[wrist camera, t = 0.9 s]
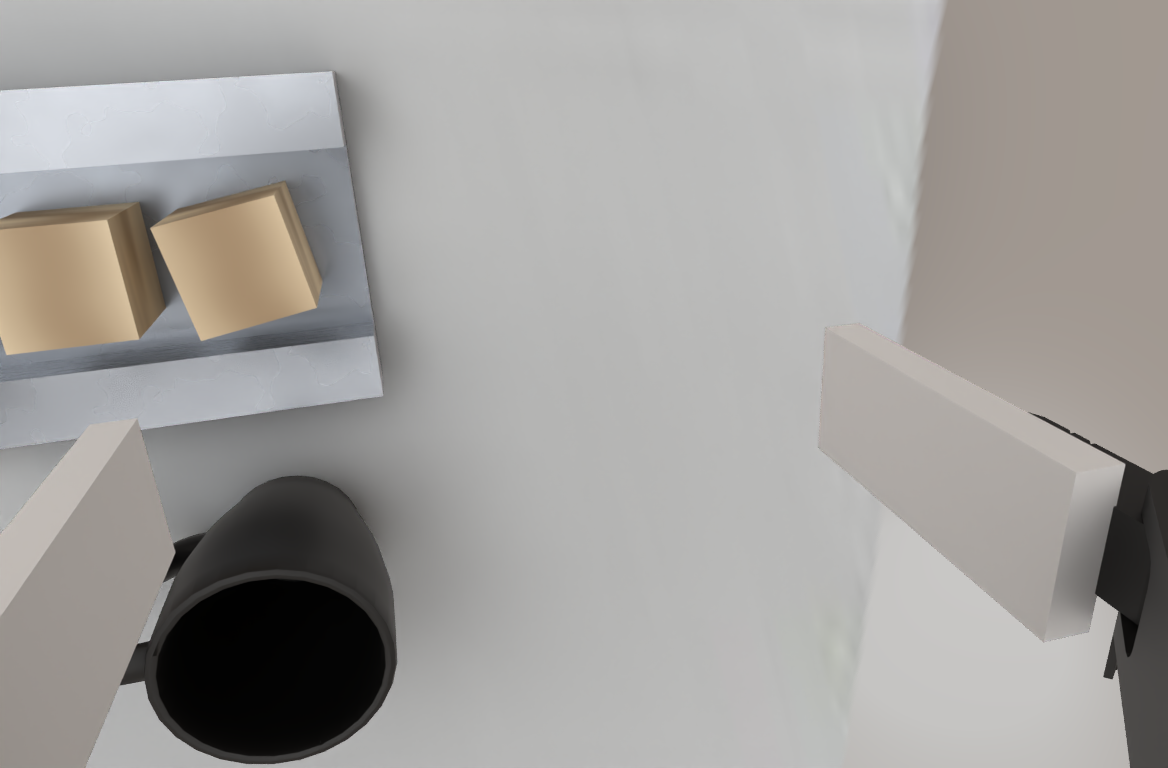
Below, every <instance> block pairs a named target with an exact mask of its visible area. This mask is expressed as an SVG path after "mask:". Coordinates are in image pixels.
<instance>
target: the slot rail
mask: <svg viewBox="0 0 1168 768" xmlns="http://www.w3.org/2000/svg"><path fill="white" fill-rule="evenodd" d="M281 181H285V182H286V185H287V187H288V190H289V193H290V195H291V198H292V201H293V203H294V206H295V209H296V211H297V214H298V217H299V219H300V222H301V225H302V227H303V230H304V233H305V235H306V238H307V241H308V244H309V246H310V249H311V252H312V254H313V257H314V260H315V262H316V265H317V268H318V270H319V273H320V276H321V278H322V286H321V291H320V295H319V300H318V305H317V308H315V309H311V310H308V311H304V312H301V313H297V314H294V315H290V316H287V317H283V318H280V319H276V320H273V321H269V322H266V323H263V324H259V325H256V326H252V327H249V328H245V329H242V330H238V331H235V332H231V333H228V334H224V335H221V336H217V337H214V338H210V339H207V340H203V341H201V340H200V338H199V336H198V333H197V331H196V329H195V327H194V324H193V322H192V320H191V318H190V316H189V313H188V311H187V309H186V307H185V304H184V302H183V300H182V298H181V296H180V293H179V291H178V289H177V287H176V284H175V282H174V280H173V278H172V276H171V273H170V271H169V269H168V267H167V265H166V262H165V260H164V258H163V256H162V253H161V251H160V249H159V247H158V245H157V242H156V240H155V238H154V236H153V233H152V231H151V229H150V228H151V227H153V226H154V225H155V224H157V223H158V222H159V221H161V220H162V219H164V218H165V217H166V216H168V215H169V214H171V213H172V212H173V211H175V210H176V209H179V208H183V207H187V206H191V205H195V204H198V203H202V202H206V201H210V200H213V199H217V198H221V197H225V196H229V195H232V194H236V193H240V192H244V191H247V190H251V189H255V188H259V187H263V186H266V185H270V184H274V183H278V182H281ZM132 202H139V204H140V208H141V212H142V216H143V220H144V224H145V228H146V231H147V235H148V239H149V243H150V247H151V251H152V255H153V259H154V263H155V267H156V271H157V275H158V279H159V283H160V286H161V290H162V294H163V298H164V302H165V306H166V309H165V310H164V311H163V312H162V313H161V315H160V316H159V317H158V318H157V319H156V320H155V322H154V323H153V324H152V325H151V326H150V327H149V329H148V330H147V331H146V332H145V333H144V335H143V336H142V337H141V338H140V339H139V340H130V341H122V342H113V343H105V344H96V345H88V346H79V347H71V348H62V349H54V350H46V351H37V352H29V353H20V354H12V355H6V352H5V349H4V346H3V343H2V340H1V337H0V449H7V448H14V447H21V446H28V445H36V444H43V443H50V442H57V441H64V440H72V439H78V438H79V437H80V436H81V435H82V433H83V432H84V431H85V430H86V428H87V427H88V426H89V425H90V424H98V423H106V422H113V421H121V420H128V419H136V418H137V419H138V422H139V426H140V429H141V430H143V429H151V428H158V427H165V426H172V425H179V424H186V423H194V422H201V421H208V420H215V419H222V418H230V417H237V416H244V415H251V414H258V413H265V412H273V411H280V410H287V409H294V408H301V407H309V406H316V405H323V404H330V403H337V402H344V401H352V400H359V399H366V398H373V397H380V396H383V379H382V367H381V361H380V354H379V348H378V342H377V335H376V329H375V323H374V316H373V310H372V303H371V297H370V291H369V284H368V278H367V272H366V265H365V259H364V252H363V246H362V240H361V233H360V227H359V221H358V214H357V208H356V201H355V195H354V189H353V182H352V176H351V170H350V163H349V157H348V151H347V144H346V138H345V131H344V125H343V119H342V112H341V106H340V100H339V93H338V87H337V80H336V74H335V71H327V72H310V73H293V74H275V75H258V76H241V77H224V78H207V79H190V80H172V81H155V82H138V83H121V84H104V85H87V86H69V87H52V88H35V89H18V90H1V91H0V219H1V218H4V217H6V216H9V215H11V214H14V213H16V212H27V211H39V210H51V209H62V208H74V207H85V206H97V205H109V204H120V203H132Z"/></svg>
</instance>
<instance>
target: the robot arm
mask: <svg viewBox="0 0 1168 768" xmlns="http://www.w3.org/2000/svg"><path fill="white" fill-rule="evenodd" d="M818 448H819V449H820V450H821V451H822V452H824V453H825V454H826V455H827V456H828V457H829V458H830V459H832V460H833V461H834V462H835V463H836V464H837V465H839V466H840V467H841V468H842V469H843V470H844V471H846V472H847V473H848V474H849V475H850V476H851V477H853V478H854V479H855V480H856V481H857V482H858V483H859V484H861V485H862V486H863V487H864V488H865V489H866V490H868V491H869V492H870V493H871V494H872V495H873V496H875V497H876V498H877V499H878V500H879V501H880V502H882V503H883V504H884V505H885V506H886V507H887V508H888V509H890V510H891V511H892V512H893V513H894V514H896V515H897V516H898V517H899V518H900V519H901V520H903V521H904V522H905V523H906V524H907V525H908V526H910V527H911V528H912V529H913V530H914V531H915V532H916V533H918V534H919V535H920V536H921V537H922V538H923V539H924V540H926V541H927V542H928V543H929V544H930V545H931V546H933V547H934V548H935V549H936V550H937V551H938V552H940V553H941V554H942V555H943V556H944V557H945V558H946V559H948V560H949V561H950V562H951V563H952V564H954V565H955V566H956V567H957V568H958V569H959V570H960V571H962V572H963V573H964V574H965V575H966V576H967V577H969V578H970V579H971V580H972V581H973V582H974V583H976V584H977V585H978V586H979V587H980V588H981V589H983V590H984V591H985V592H986V593H987V594H988V595H989V596H991V597H992V598H993V599H994V600H995V601H996V602H998V603H999V604H1000V605H1001V606H1002V607H1003V608H1005V609H1006V610H1007V611H1008V612H1009V613H1010V614H1012V615H1013V616H1014V617H1015V618H1016V619H1017V620H1019V621H1020V622H1021V623H1022V624H1023V625H1024V626H1025V627H1027V628H1028V629H1029V630H1030V631H1031V632H1033V633H1034V634H1035V635H1036V636H1037V637H1038V638H1039V639H1040V640H1042V641H1043V642H1046V641H1051V640H1056V639H1060V638H1065V637H1069V636H1073V635H1078V634H1082V633H1087V632H1089V629H1090V625H1091V619H1092V615H1093V611H1094V606H1095V602H1096V597H1097V596H1099V597H1100V598H1101V599H1103V600H1104V601H1106V602H1107V603H1108V604H1110V605H1111V606H1112V607H1114V608H1115V609H1116V610H1118V611H1119V612H1118V616H1117V620H1116V625H1115V629H1114V633H1113V637H1112V642H1111V646H1110V650H1109V655H1108V659H1107V664H1106V668H1105V672H1104V677H1105V678H1109V679H1113V676H1114V673H1115V670H1117V669H1118V676H1119V683H1120V691H1121V699H1122V707H1123V714H1124V722H1125V730H1126V737H1127V745H1128V753H1129V761H1130V768H1168V470H1161V471H1159V472H1157V473H1154V474H1152V473H1150V472H1149V471H1146V470H1145V469H1143V468H1141V467H1139V466H1137V465H1135V464H1133V463H1131V462H1129V461H1127V460H1126V459H1124V458H1122V457H1120V456H1117V455H1116V454H1114V453H1112V452H1110V451H1108V450H1106V449H1105V448H1103V447H1101V446H1099V445H1097V444H1090V441H1089V440H1087V439H1085V438H1083V437H1081V436H1080V435H1078V434H1076V433H1070V430H1068V429H1066V428H1064V427H1062V426H1060V425H1059V424H1057V423H1055V422H1053V421H1051V420H1049V419H1047V418H1045V417H1042V416H1039V415H1036V414H1032V413H1029V412H1026V411H1024V410H1022V409H1020V408H1018V407H1017V406H1015V405H1013V404H1011V403H1009V402H1007V401H1005V400H1003V399H1002V398H1000V397H998V396H996V395H994V394H992V393H990V392H988V391H986V390H985V389H983V388H981V387H978V386H977V385H975V384H973V383H971V382H969V381H968V380H966V379H964V378H962V377H960V376H958V375H956V374H954V373H952V372H950V371H949V370H946V369H945V368H943V367H941V366H939V365H937V364H935V363H934V362H932V361H930V360H928V359H926V358H924V357H922V356H920V355H918V354H916V353H915V352H913V351H911V350H909V349H907V348H905V347H903V346H901V345H899V344H898V343H896V342H894V341H892V340H890V339H888V338H886V337H884V336H882V335H881V334H879V333H877V332H875V331H873V330H871V329H869V328H867V327H865V326H864V325H862V324H860V323H856V324H848V325H841V326H833V327H826V328H825V340H824V357H823V374H822V391H821V408H820V424H819V441H818ZM174 555H175V549H174V546H173V542H172V539H171V535H170V531H169V528H168V524H167V521H166V517H165V514H164V510H163V507H162V503H161V500H160V496H159V493H158V489H157V486H156V482H155V479H154V475H153V471H152V468H151V464H150V461H149V457H148V454H147V450H146V447H145V443H144V440H143V436H142V433H141V429H140V426H139V422H138V419H137V418H136V419H128V420H121V421H113V422H106V423H98V424H90V425H89V426H88V427H87V428H86V430H85V431H84V432H83V433H82V435H81V436H80V437H79V438H78V440H77V441H76V442H75V443H74V444H73V446H72V447H71V448H70V449H69V451H68V452H67V453H66V454H65V456H64V457H63V458H62V459H61V460H60V462H59V463H58V464H57V465H56V467H55V468H54V469H53V470H52V472H51V473H50V474H49V475H48V476H47V478H46V479H45V480H44V481H43V483H42V484H41V485H40V486H39V488H38V489H37V490H36V491H35V492H34V494H33V495H32V496H31V497H30V499H29V500H28V501H27V502H26V504H25V505H24V506H23V507H22V508H21V510H20V511H19V512H18V513H17V515H16V516H15V517H14V518H13V520H12V521H11V522H10V523H9V524H8V526H7V527H6V528H5V529H4V531H3V532H2V533H1V534H0V768H85V767H86V764H87V762H88V759H89V757H90V755H91V752H92V750H93V748H94V745H95V743H96V740H97V738H98V736H99V733H100V731H101V729H102V726H103V724H104V721H105V719H106V717H107V714H108V712H109V709H110V707H111V705H112V702H113V700H114V698H115V695H116V693H117V690H118V688H119V686H120V683H121V681H122V679H123V676H124V674H125V671H126V669H127V667H128V664H129V662H130V660H131V657H132V655H133V652H134V650H135V648H136V645H137V643H138V640H139V638H140V636H141V633H142V631H143V629H144V626H145V624H146V621H147V619H148V617H149V614H150V612H151V610H152V607H153V605H154V602H155V600H156V598H157V595H158V593H159V590H160V588H161V586H162V583H163V581H164V579H165V576H166V574H167V571H168V569H169V567H170V564H171V562H172V560H173V557H174Z"/></svg>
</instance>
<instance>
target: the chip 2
mask: <svg viewBox="0 0 1168 768" xmlns="http://www.w3.org/2000/svg"><path fill="white" fill-rule="evenodd" d="M150 229H151V231H152V233H153V236H154V238H155V240H156V242H157V245H158V247H159V249H160V251H161V253H162V256H163V258H164V260H165V262H166V265H167V267H168V269H169V271H170V273H171V276H172V278H173V280H174V282H175V284H176V287H177V289H178V291H179V293H180V296H181V298H182V300H183V302H184V304H185V307H186V309H187V311H188V313H189V316H190V318H191V320H192V322H193V324H194V327H195V329H196V331H197V333H198V336H199V338H200V340H201V341H203V340H207V339H210V338H214V337H217V336H221V335H224V334H228V333H231V332H235V331H238V330H242V329H245V328H249V327H252V326H256V325H259V324H263V323H266V322H269V321H273V320H276V319H280V318H283V317H287V316H290V315H294V314H297V313H301V312H304V311H308V310H311V309H315V308H317V305H318V300H319V295H320V291H321V286H322V278H321V276H320V273H319V270H318V268H317V265H316V262H315V260H314V257H313V254H312V252H311V249H310V246H309V244H308V241H307V238H306V235H305V233H304V230H303V227H302V225H301V222H300V219H299V217H298V214H297V211H296V209H295V206H294V203H293V201H292V198H291V195H290V193H289V190H288V187H287V185H286V182H285V181H281V182H278V183H274V184H270V185H266V186H263V187H259V188H255V189H251V190H247V191H244V192H240V193H236V194H232V195H229V196H225V197H221V198H217V199H213V200H210V201H206V202H202V203H198V204H195V205H191V206H187V207H183V208H179V209H176V210H175V211H173V212H172V213H171V214H169V215H168V216H166V217H165V218H164V219H162V220H161V221H159V222H158V223H157V224H155V225H154V226H153V227H151V228H150Z"/></svg>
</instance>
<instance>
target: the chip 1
mask: <svg viewBox="0 0 1168 768" xmlns="http://www.w3.org/2000/svg"><path fill="white" fill-rule="evenodd" d="M165 309H166V306H165V302H164V298H163V294H162V290H161V286H160V283H159V279H158V275H157V271H156V267H155V263H154V259H153V255H152V251H151V247H150V243H149V239H148V235H147V231H146V228H145V224H144V220H143V216H142V212H141V208H140V204H139V202H132V203H120V204H109V205H97V206H85V207H74V208H62V209H51V210H39V211H27V212H16V213H14V214H11V215H9V216H6V217H4V218H1V219H0V337H1V340H2V343H3V346H4V349H5V352H6V355H12V354H20V353H29V352H37V351H46V350H54V349H62V348H71V347H79V346H88V345H96V344H105V343H113V342H122V341H130V340H139V339H140V338H141V337H142V336H143V335H144V333H145V332H146V331H147V330H148V329H149V327H150V326H151V325H152V324H153V323H154V322H155V320H156V319H157V318H158V317H159V316H160V315H161V313H162V312H163V311H164V310H165Z"/></svg>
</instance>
